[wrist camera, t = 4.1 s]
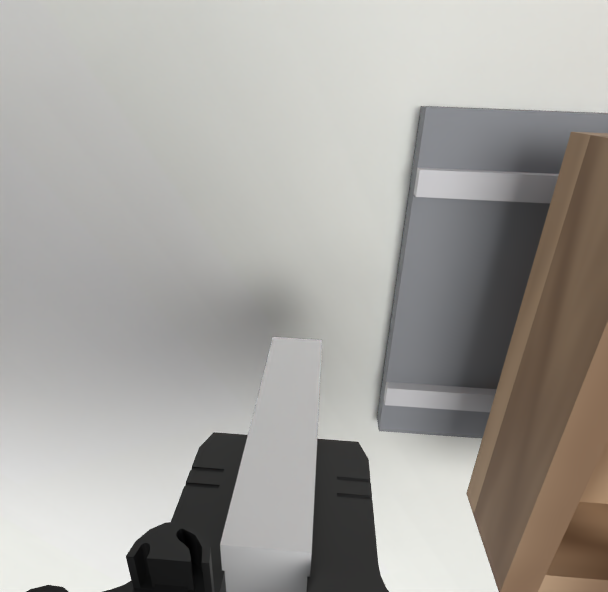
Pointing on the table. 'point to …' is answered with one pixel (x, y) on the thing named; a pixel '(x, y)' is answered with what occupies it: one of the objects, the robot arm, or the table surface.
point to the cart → (554, 401)
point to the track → (468, 259)
